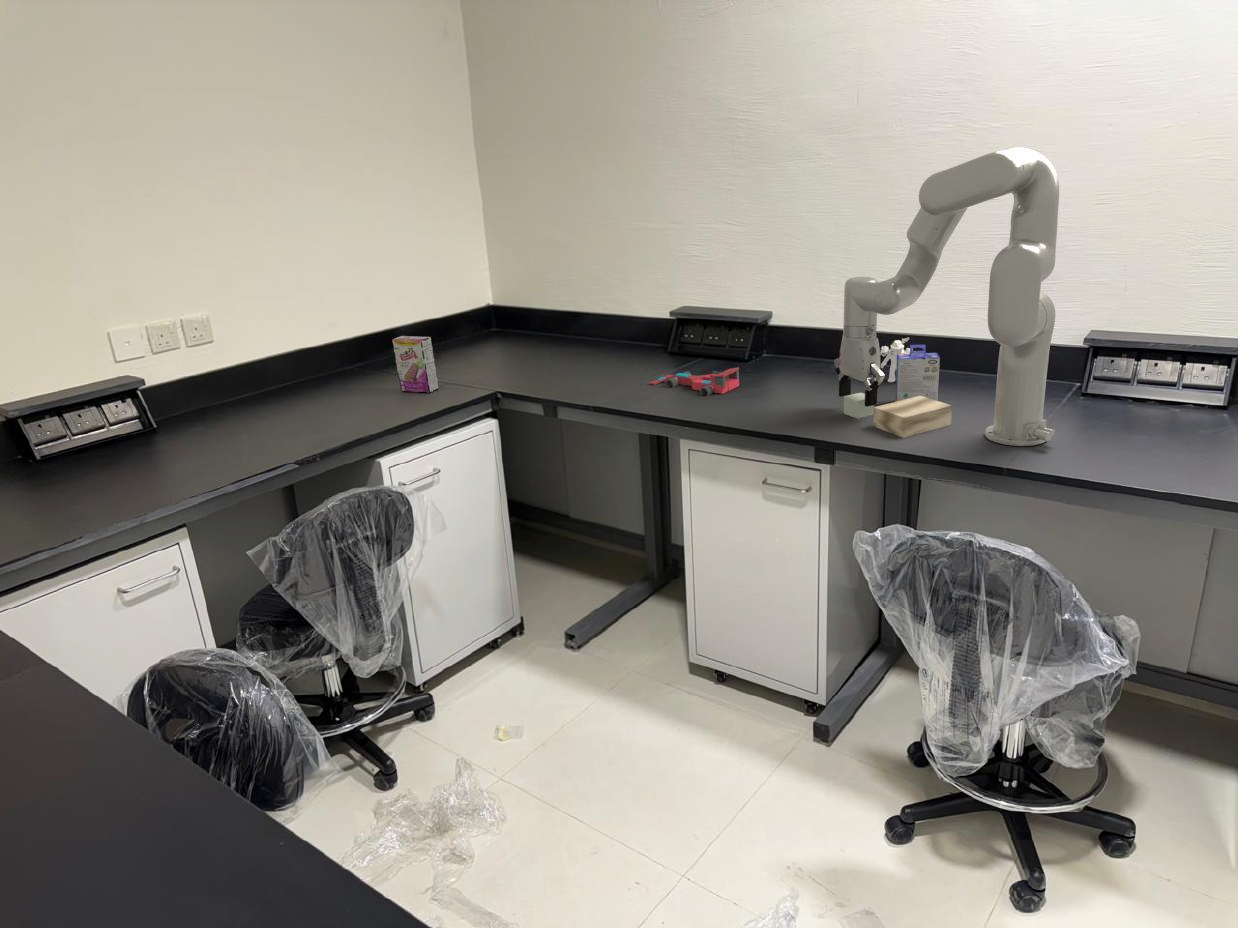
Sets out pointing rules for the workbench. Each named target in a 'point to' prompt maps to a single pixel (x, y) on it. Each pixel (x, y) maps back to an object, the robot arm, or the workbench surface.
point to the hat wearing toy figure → (894, 356)
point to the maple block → (912, 416)
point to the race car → (704, 381)
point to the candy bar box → (415, 363)
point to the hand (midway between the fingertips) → (857, 400)
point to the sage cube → (857, 406)
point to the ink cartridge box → (917, 374)
